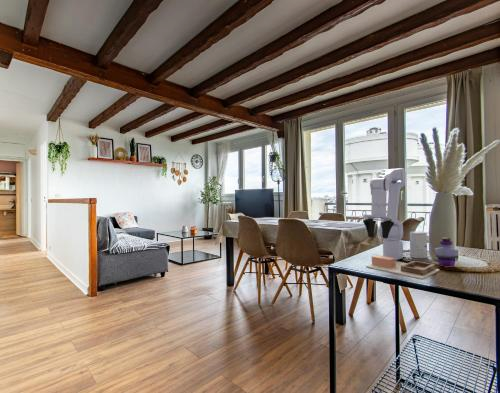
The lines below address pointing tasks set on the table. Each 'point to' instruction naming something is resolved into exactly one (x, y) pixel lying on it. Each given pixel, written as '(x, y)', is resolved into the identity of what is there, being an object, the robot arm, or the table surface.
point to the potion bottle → (446, 253)
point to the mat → (398, 271)
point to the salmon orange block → (383, 261)
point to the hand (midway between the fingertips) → (378, 237)
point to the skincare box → (418, 244)
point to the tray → (418, 267)
